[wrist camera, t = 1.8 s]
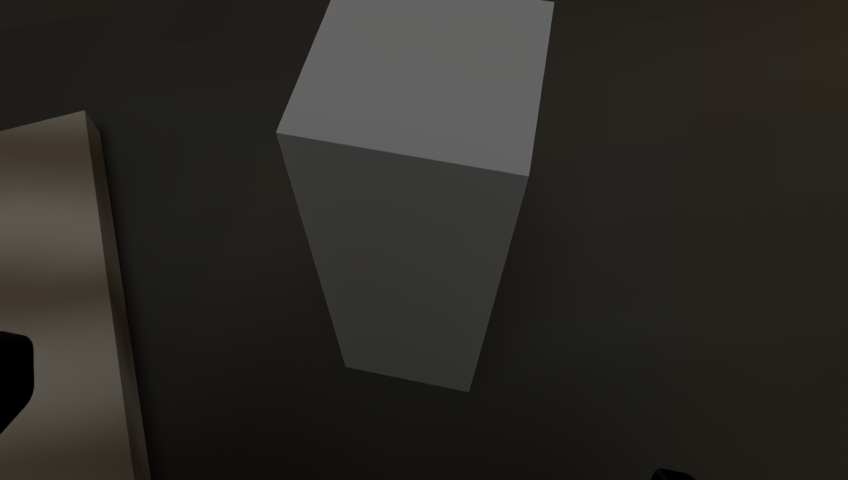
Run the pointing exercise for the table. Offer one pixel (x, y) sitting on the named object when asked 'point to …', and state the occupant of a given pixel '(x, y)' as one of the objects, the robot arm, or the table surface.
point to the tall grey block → (415, 172)
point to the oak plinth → (66, 309)
